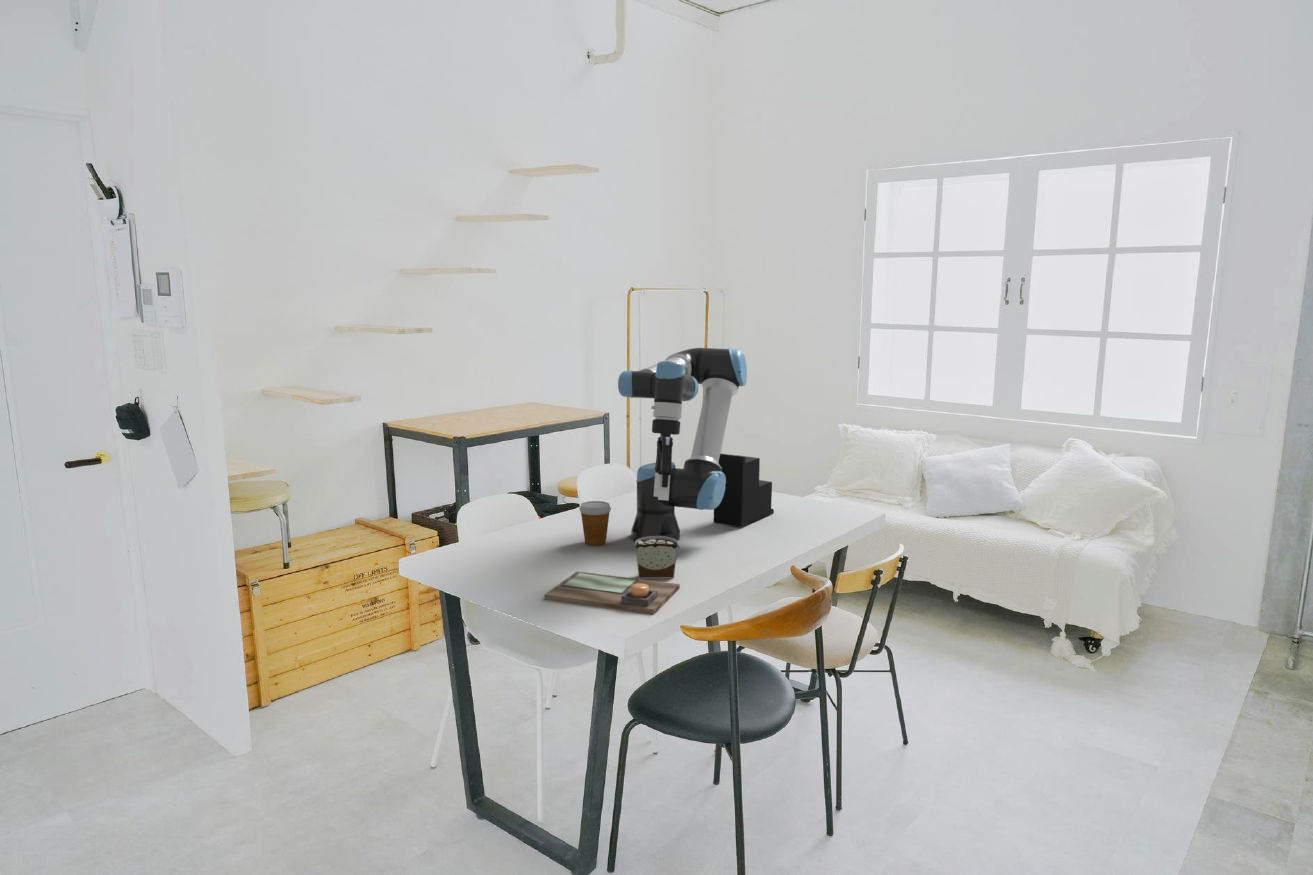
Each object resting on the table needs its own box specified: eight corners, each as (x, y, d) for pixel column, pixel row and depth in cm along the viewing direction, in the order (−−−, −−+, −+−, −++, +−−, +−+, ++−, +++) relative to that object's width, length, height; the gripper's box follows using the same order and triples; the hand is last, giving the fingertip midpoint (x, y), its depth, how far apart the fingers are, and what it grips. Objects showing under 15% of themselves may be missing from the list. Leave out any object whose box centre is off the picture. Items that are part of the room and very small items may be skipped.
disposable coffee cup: (579, 538, 269) (579, 500, 267) (610, 538, 270) (610, 500, 267) (579, 547, 259) (578, 508, 257) (611, 547, 260) (611, 508, 258)
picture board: (576, 575, 235) (576, 565, 234) (679, 588, 225) (679, 578, 225) (544, 599, 217) (544, 588, 217) (654, 614, 207) (654, 602, 207)
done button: (634, 590, 216) (634, 582, 215) (651, 592, 214) (651, 584, 214) (627, 596, 212) (627, 588, 211) (644, 598, 210) (644, 590, 210)
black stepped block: (746, 509, 306) (748, 443, 302) (774, 513, 300) (776, 446, 296) (712, 523, 287) (713, 453, 283) (741, 528, 281) (743, 457, 277)
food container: (678, 570, 239) (678, 535, 238) (679, 577, 233) (679, 541, 232) (633, 570, 239) (633, 535, 237) (633, 578, 233) (633, 541, 231)
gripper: (649, 419, 247) (643, 494, 246) (656, 416, 222) (650, 500, 222) (675, 421, 247) (669, 496, 247) (686, 419, 222) (679, 502, 222)
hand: (660, 498), depth 234 cm, fingers open, 13 cm apart
